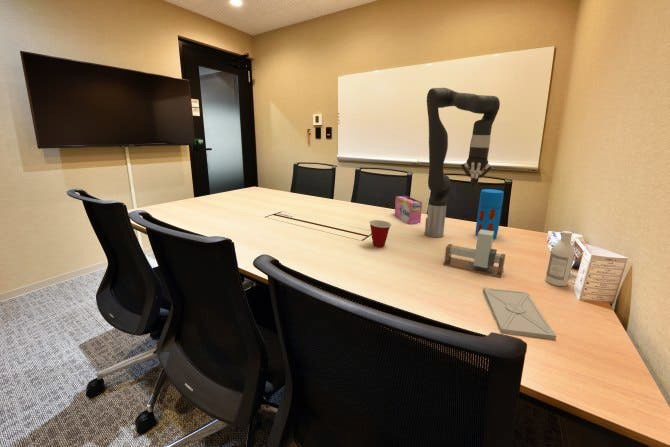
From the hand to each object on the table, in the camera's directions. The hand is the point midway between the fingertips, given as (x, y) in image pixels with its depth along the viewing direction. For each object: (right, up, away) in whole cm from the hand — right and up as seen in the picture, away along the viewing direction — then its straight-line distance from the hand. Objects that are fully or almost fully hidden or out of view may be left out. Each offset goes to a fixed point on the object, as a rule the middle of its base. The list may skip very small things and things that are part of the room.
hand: (473, 186), depth 137 cm
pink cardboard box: (-14, -14, +65) cm, 68 cm away
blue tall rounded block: (+21, -24, +32) cm, 45 cm away
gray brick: (+2, -33, -11) cm, 34 cm away
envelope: (-5, -45, -39) cm, 60 cm away
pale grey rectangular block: (-1, -33, -9) cm, 34 cm away
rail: (-3, -35, -7) cm, 35 cm away
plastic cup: (-39, -28, +18) cm, 51 cm away
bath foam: (+22, -39, -19) cm, 49 cm away
